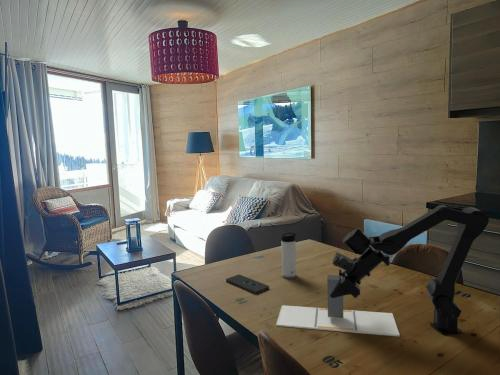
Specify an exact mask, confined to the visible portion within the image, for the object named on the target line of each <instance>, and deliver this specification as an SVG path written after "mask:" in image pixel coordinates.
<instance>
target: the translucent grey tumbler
mask: <svg viewBox="0 0 500 375" xmlns="http://www.w3.org/2000/svg"><path fill="white" fill-rule="evenodd" d="M339 278H341V279H342V278H343V276H339V274H338V275H337V274H328V275H327V279H326V280H327V283H326V284H327V285H326V286H327V287H326V288H327V289H326V290H327V292H326V293H327V309H328V317H334V318H343V310H344V296H340V297H336V298H331V297H330V295H331V294H332V292H333V291H334V290H335V289H336V287H337V286H338V285H339Z"/></svg>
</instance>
